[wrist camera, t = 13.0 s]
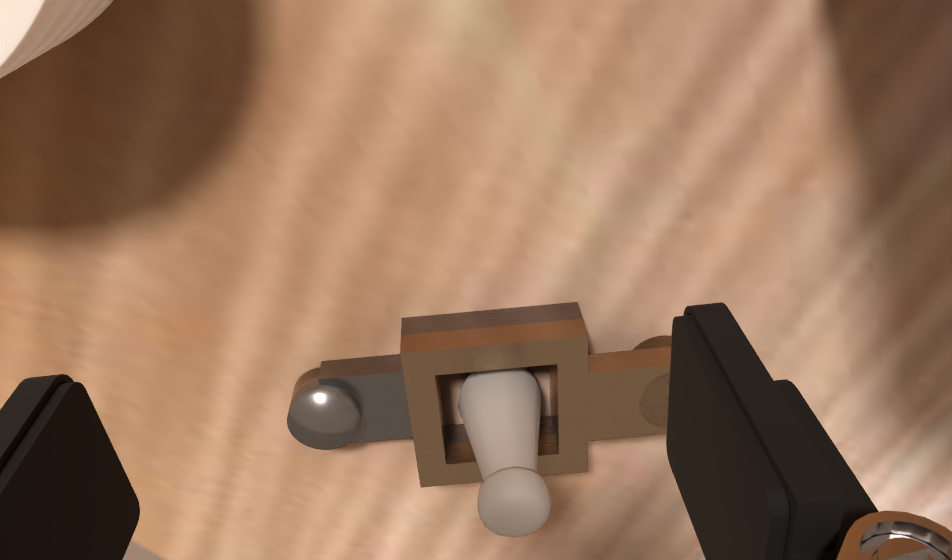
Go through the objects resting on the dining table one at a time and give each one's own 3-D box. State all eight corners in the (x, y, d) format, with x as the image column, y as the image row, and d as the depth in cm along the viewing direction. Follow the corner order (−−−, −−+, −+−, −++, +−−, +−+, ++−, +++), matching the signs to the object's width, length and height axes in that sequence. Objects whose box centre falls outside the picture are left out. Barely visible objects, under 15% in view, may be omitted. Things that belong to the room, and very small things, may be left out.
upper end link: (700, 290, 51) (720, 324, 47) (687, 423, 57) (703, 460, 54) (401, 318, 51) (400, 353, 47) (421, 447, 57) (420, 487, 53)
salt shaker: (485, 420, 56) (500, 567, 45) (440, 372, 53) (445, 514, 42) (551, 383, 54) (584, 525, 43) (509, 331, 52) (532, 468, 41)
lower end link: (577, 302, 51) (585, 327, 48) (577, 433, 57) (584, 461, 54) (277, 329, 50) (269, 356, 48) (309, 458, 57) (304, 488, 54)
